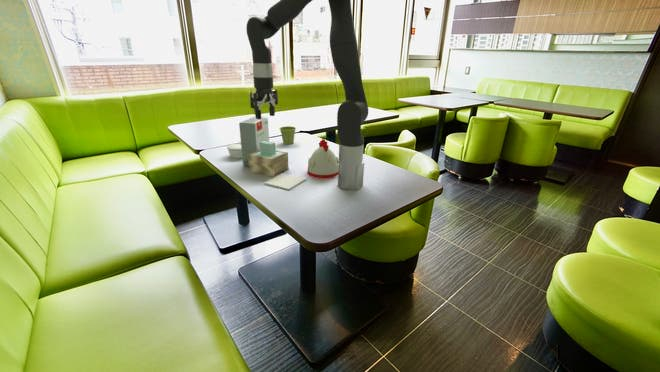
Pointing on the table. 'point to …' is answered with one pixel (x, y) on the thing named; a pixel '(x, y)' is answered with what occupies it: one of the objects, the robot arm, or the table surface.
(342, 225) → the table surface
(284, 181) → the mat
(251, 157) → the crate
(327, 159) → the kitchen timer
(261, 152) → the lid
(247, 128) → the hard drive box
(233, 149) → the ramekin
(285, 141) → the plant pot
